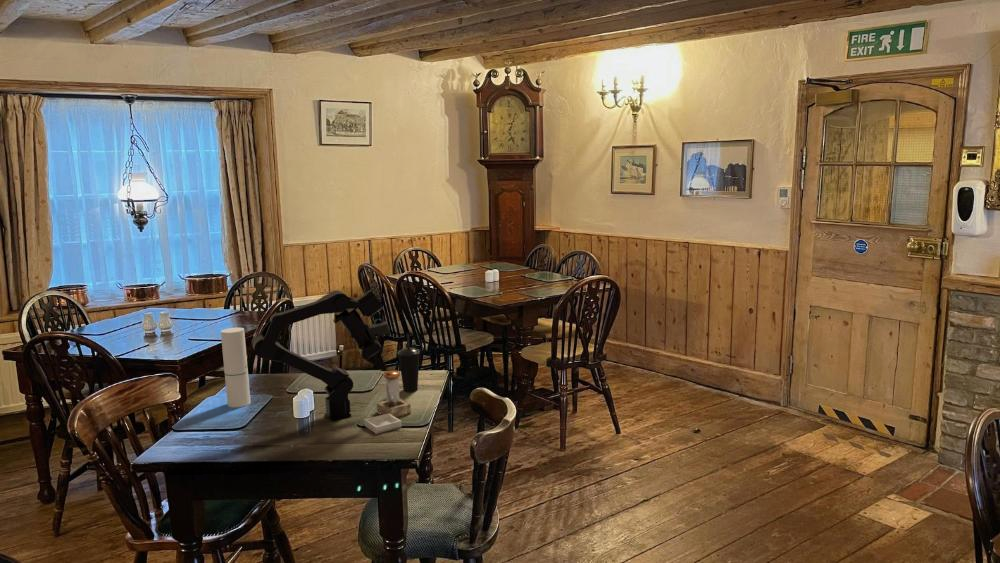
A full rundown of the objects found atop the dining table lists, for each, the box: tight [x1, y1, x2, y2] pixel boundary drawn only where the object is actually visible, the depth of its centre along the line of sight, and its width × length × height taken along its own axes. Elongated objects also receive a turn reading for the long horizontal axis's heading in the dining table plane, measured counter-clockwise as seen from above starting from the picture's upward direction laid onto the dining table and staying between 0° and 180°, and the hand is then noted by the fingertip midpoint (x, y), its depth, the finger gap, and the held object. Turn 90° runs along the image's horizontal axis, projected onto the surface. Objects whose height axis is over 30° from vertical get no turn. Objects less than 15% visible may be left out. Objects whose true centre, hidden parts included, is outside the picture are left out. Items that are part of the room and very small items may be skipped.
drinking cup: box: [397, 332, 421, 393], centre depth 243 cm, size 8×8×20 cm
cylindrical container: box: [220, 327, 252, 408], centre depth 232 cm, size 7×7×25 cm
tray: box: [363, 413, 403, 435], centre depth 211 cm, size 8×8×2 cm
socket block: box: [376, 398, 412, 418], centre depth 222 cm, size 8×8×3 cm
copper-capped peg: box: [383, 369, 401, 408], centre depth 222 cm, size 5×5×13 cm
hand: (384, 366), depth 222 cm, fingers open, 9 cm apart
